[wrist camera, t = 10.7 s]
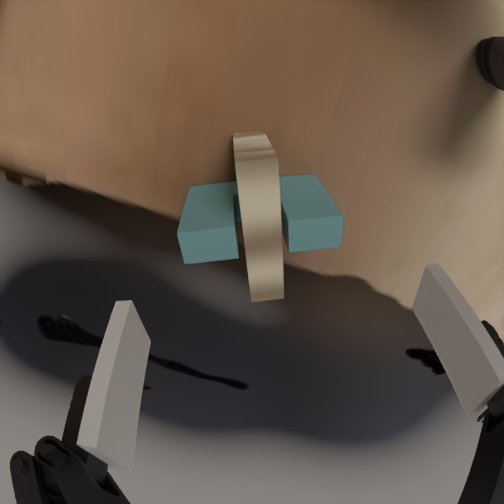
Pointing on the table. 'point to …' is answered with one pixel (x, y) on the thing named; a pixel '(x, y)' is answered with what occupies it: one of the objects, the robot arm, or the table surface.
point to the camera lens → (491, 60)
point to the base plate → (228, 214)
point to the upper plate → (260, 213)
